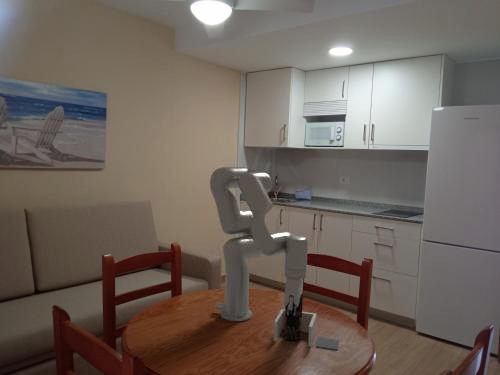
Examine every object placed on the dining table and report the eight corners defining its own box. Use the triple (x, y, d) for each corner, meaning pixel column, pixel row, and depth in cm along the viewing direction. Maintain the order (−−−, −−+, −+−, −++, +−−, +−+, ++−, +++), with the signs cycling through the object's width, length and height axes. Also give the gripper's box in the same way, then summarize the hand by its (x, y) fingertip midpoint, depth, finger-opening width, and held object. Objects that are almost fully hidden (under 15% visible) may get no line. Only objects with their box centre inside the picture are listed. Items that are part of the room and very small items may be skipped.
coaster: (316, 347, 131) (316, 345, 131) (318, 338, 138) (318, 337, 138) (337, 350, 129) (337, 349, 129) (338, 341, 136) (338, 340, 136)
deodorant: (300, 340, 134) (302, 298, 132) (282, 338, 135) (284, 296, 134) (301, 333, 139) (303, 292, 138) (284, 331, 141) (286, 290, 139)
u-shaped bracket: (273, 341, 135) (274, 321, 135) (281, 327, 147) (281, 309, 146) (311, 347, 131) (311, 326, 131) (316, 332, 143) (316, 313, 142)
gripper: (289, 264, 145) (287, 311, 146) (279, 277, 128) (277, 330, 130) (309, 266, 142) (307, 314, 144) (302, 280, 126) (299, 334, 127)
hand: (293, 321), depth 137 cm, fingers closed on deodorant, 5 cm apart
